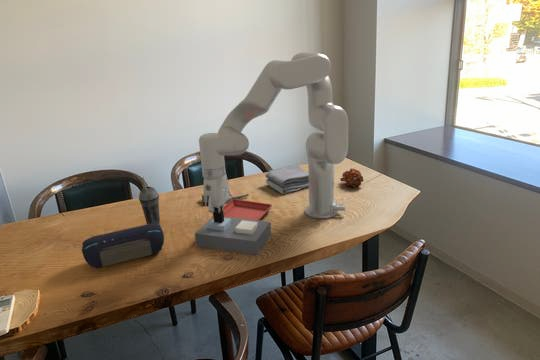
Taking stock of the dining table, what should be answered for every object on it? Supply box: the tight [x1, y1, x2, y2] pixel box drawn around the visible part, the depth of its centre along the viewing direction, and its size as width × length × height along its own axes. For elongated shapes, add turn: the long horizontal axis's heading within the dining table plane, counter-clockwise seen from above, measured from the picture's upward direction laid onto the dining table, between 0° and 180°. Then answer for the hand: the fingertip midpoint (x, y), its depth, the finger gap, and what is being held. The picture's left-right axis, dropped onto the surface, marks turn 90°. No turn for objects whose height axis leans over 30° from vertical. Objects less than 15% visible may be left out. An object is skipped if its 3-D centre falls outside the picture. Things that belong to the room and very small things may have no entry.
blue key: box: [208, 218, 231, 231], centre depth 138 cm, size 6×6×5 cm
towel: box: [265, 163, 309, 195], centre depth 181 cm, size 15×18×8 cm
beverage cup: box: [138, 176, 161, 226], centre depth 148 cm, size 7×7×20 cm
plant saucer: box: [210, 199, 273, 221], centre depth 154 cm, size 18×18×3 cm
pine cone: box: [339, 167, 364, 188], centre depth 178 cm, size 8×8×12 cm
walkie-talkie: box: [201, 191, 250, 205], centre depth 171 cm, size 9×4×20 cm
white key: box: [235, 220, 258, 235], centre depth 135 cm, size 6×6×5 cm
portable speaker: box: [81, 223, 165, 269], centre depth 129 cm, size 25×10×10 cm, turn 114°
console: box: [194, 216, 272, 256], centre depth 137 cm, size 22×14×5 cm, turn 70°
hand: (219, 221), depth 137 cm, fingers closed
